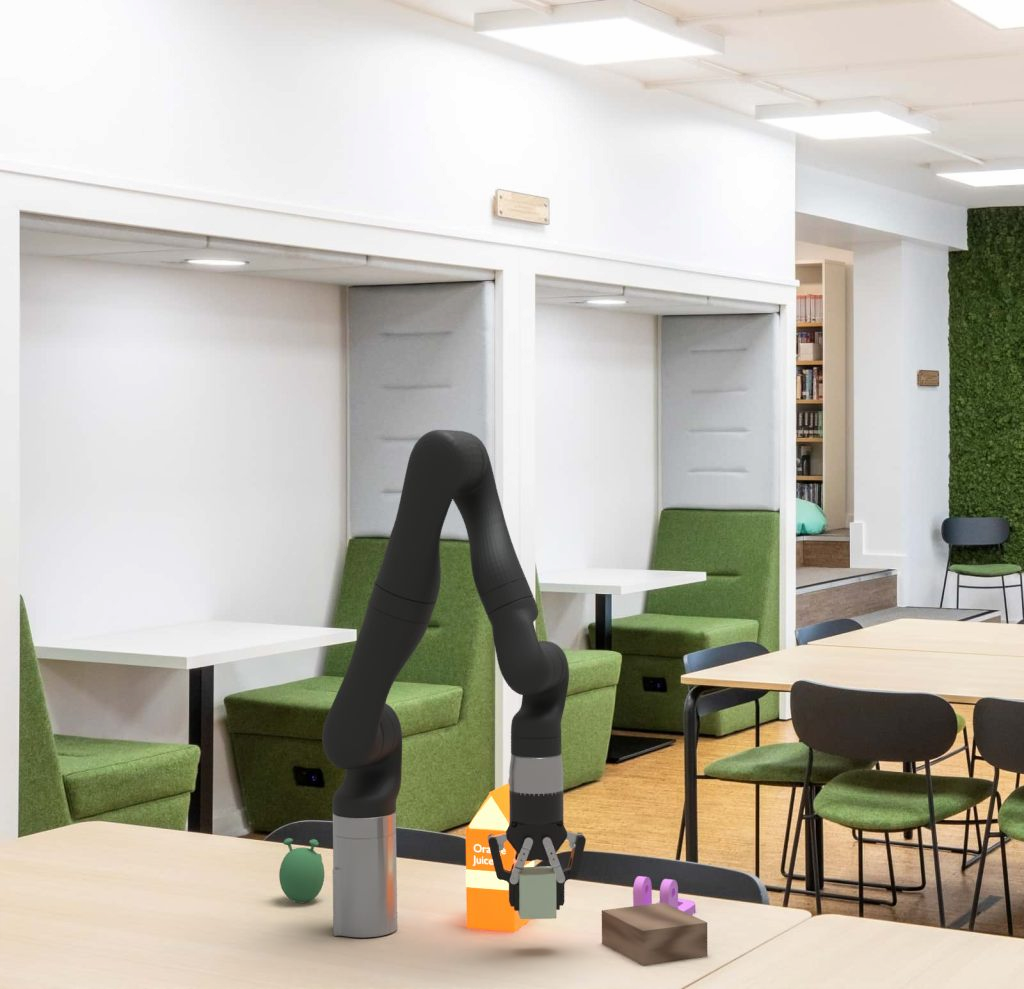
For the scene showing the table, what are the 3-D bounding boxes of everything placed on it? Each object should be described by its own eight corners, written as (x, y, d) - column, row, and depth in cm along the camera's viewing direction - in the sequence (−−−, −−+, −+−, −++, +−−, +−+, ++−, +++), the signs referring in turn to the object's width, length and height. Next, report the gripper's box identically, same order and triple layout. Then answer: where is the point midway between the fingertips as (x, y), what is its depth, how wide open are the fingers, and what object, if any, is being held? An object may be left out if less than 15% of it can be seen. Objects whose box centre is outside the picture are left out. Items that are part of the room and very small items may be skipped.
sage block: (520, 919, 222) (519, 875, 222) (517, 909, 227) (516, 867, 227) (556, 918, 222) (556, 874, 222) (552, 909, 227) (552, 866, 227)
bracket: (668, 930, 235) (668, 882, 235) (633, 926, 238) (633, 879, 238) (700, 909, 247) (700, 864, 247) (666, 906, 249) (666, 860, 249)
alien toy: (329, 895, 257) (329, 832, 257) (319, 908, 250) (318, 843, 250) (286, 895, 258) (285, 832, 258) (274, 907, 250) (274, 842, 250)
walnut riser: (643, 968, 217) (643, 931, 217) (601, 945, 228) (601, 910, 228) (707, 958, 221) (707, 922, 221) (663, 937, 232) (663, 902, 232)
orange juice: (465, 927, 237) (464, 791, 237) (487, 912, 246) (485, 781, 246) (515, 932, 235) (514, 794, 235) (536, 917, 243) (534, 783, 243)
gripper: (486, 792, 220) (486, 917, 220) (591, 790, 221) (591, 915, 221) (482, 782, 228) (483, 903, 228) (584, 780, 229) (584, 901, 229)
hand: (536, 908), depth 225 cm, fingers closed on sage block, 5 cm apart
